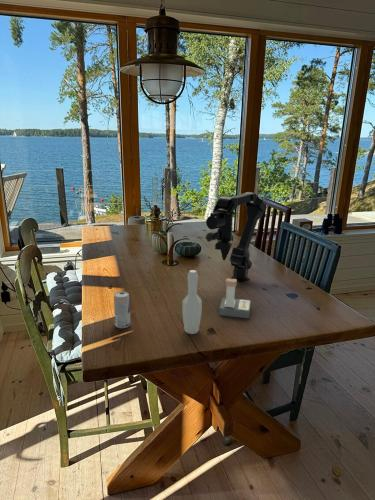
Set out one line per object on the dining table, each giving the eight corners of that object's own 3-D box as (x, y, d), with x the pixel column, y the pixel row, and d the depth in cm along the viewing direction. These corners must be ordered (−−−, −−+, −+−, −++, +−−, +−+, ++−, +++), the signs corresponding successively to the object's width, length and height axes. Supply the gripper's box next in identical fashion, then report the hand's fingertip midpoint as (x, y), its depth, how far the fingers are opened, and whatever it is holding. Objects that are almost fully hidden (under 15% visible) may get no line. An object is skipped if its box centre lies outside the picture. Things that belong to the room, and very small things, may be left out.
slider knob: (225, 302, 140) (226, 277, 137) (235, 303, 139) (236, 278, 136) (224, 306, 136) (225, 281, 133) (234, 307, 135) (235, 282, 132)
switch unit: (222, 304, 146) (222, 296, 145) (250, 307, 144) (250, 299, 143) (219, 315, 137) (219, 307, 136) (248, 318, 134) (249, 310, 134)
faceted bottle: (190, 324, 129) (191, 266, 123) (204, 330, 126) (206, 271, 119) (178, 331, 125) (179, 271, 118) (193, 337, 121) (194, 276, 115)
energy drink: (131, 321, 131) (130, 291, 127) (129, 328, 126) (128, 297, 122) (116, 321, 131) (115, 291, 127) (114, 328, 125) (112, 297, 122)
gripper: (210, 220, 166) (209, 252, 170) (203, 229, 148) (202, 265, 153) (234, 222, 164) (232, 254, 168) (230, 231, 146) (228, 267, 151)
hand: (224, 260), depth 160 cm, fingers closed
